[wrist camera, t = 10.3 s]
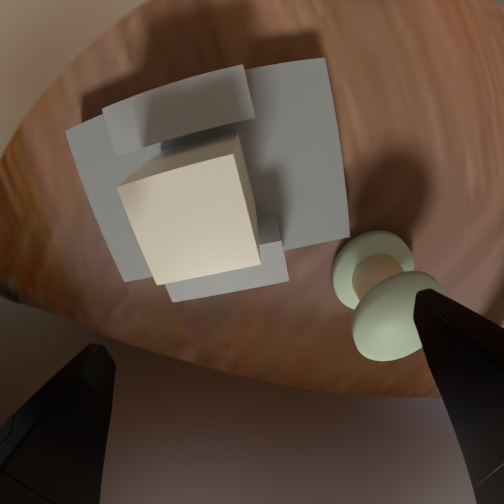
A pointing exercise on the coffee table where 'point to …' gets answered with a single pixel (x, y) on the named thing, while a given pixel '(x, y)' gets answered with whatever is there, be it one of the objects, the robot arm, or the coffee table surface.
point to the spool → (380, 293)
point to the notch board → (255, 154)
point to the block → (194, 210)
